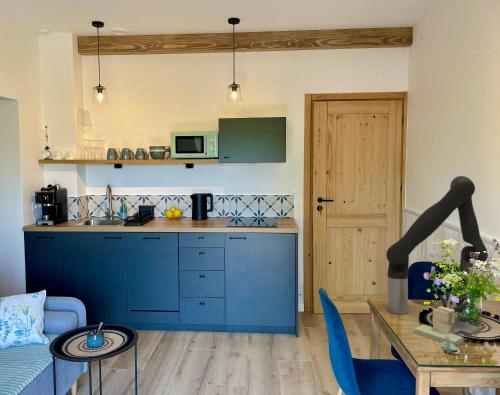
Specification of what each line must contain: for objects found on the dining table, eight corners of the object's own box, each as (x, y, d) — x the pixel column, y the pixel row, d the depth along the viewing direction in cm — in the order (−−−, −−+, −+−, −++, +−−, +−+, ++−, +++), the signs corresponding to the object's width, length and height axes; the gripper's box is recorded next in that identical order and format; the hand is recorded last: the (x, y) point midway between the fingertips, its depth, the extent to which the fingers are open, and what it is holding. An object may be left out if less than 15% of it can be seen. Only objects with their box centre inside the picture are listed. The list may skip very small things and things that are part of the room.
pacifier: (457, 348, 157) (440, 346, 158) (458, 332, 156) (441, 330, 158) (461, 356, 150) (444, 354, 151) (462, 340, 149) (445, 338, 151)
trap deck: (441, 320, 184) (441, 315, 183) (480, 331, 170) (480, 327, 170) (414, 333, 170) (414, 328, 170) (454, 347, 157) (454, 342, 157)
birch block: (440, 326, 172) (440, 306, 171) (454, 331, 167) (454, 309, 166) (432, 330, 168) (432, 309, 167) (446, 335, 163) (447, 313, 163)
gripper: (443, 276, 179) (428, 309, 173) (474, 282, 169) (460, 318, 162) (449, 285, 183) (435, 318, 177) (480, 292, 172) (466, 327, 166)
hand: (447, 318), depth 169 cm, fingers closed
